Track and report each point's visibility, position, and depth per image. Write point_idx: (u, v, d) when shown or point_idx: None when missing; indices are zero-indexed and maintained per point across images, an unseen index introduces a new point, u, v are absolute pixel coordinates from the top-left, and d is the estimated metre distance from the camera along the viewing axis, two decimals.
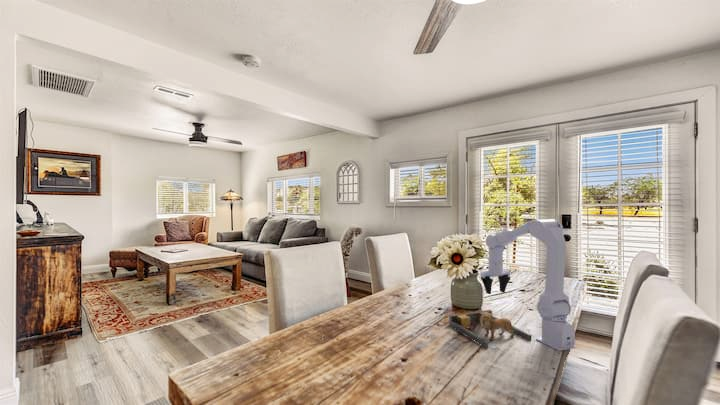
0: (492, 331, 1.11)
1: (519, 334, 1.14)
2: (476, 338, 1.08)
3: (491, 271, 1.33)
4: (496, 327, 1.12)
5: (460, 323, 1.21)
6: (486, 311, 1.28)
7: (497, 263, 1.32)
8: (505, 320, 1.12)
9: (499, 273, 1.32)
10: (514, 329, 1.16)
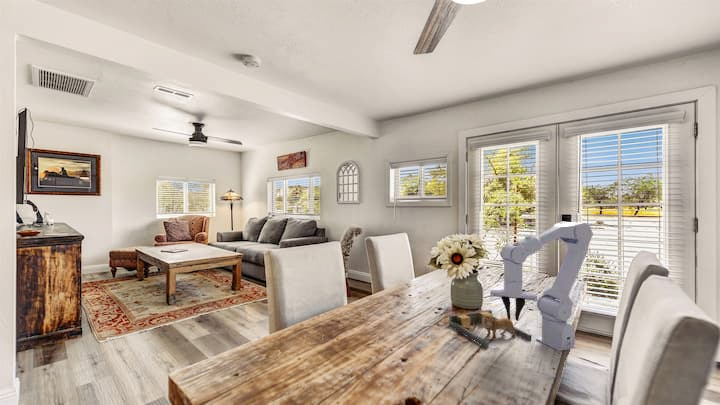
0: (494, 331, 1.11)
1: (519, 334, 1.14)
2: (476, 338, 1.08)
3: (504, 290, 1.06)
4: (498, 327, 1.12)
5: (460, 323, 1.21)
6: (486, 311, 1.28)
7: (509, 281, 1.04)
8: (507, 320, 1.13)
9: (512, 294, 1.03)
10: (514, 329, 1.16)
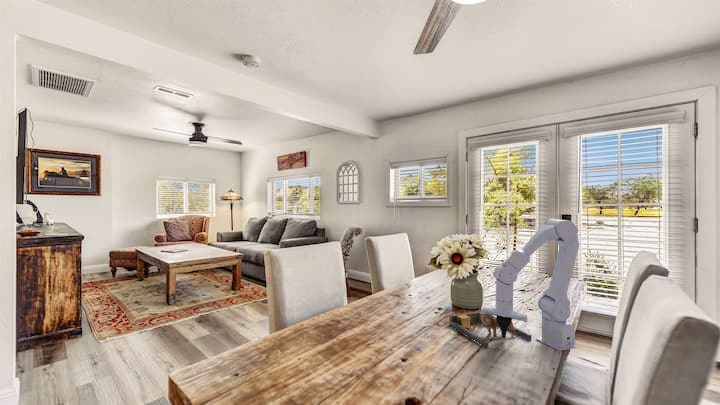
0: (494, 329, 1.12)
1: (519, 334, 1.14)
2: (476, 338, 1.08)
3: (495, 309, 1.10)
4: (497, 325, 1.13)
5: (460, 323, 1.21)
6: None
7: (499, 300, 1.08)
8: None
9: (501, 313, 1.07)
10: None
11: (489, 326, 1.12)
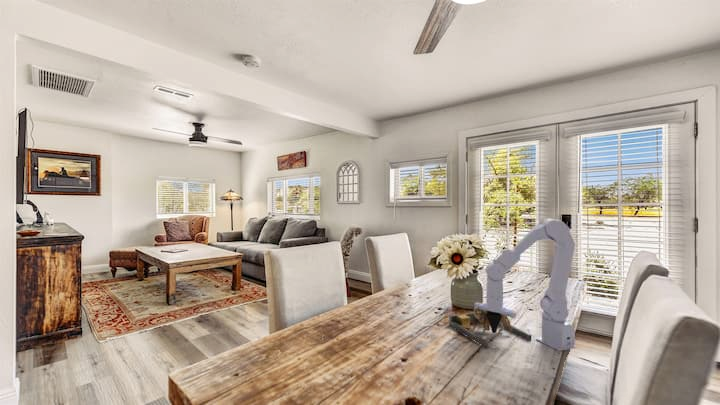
0: (487, 322, 1.16)
1: (519, 334, 1.14)
2: (476, 338, 1.08)
3: (486, 304, 1.15)
4: None
5: (460, 323, 1.21)
6: None
7: (488, 296, 1.13)
8: None
9: (489, 308, 1.12)
10: (514, 329, 1.16)
11: (481, 319, 1.17)
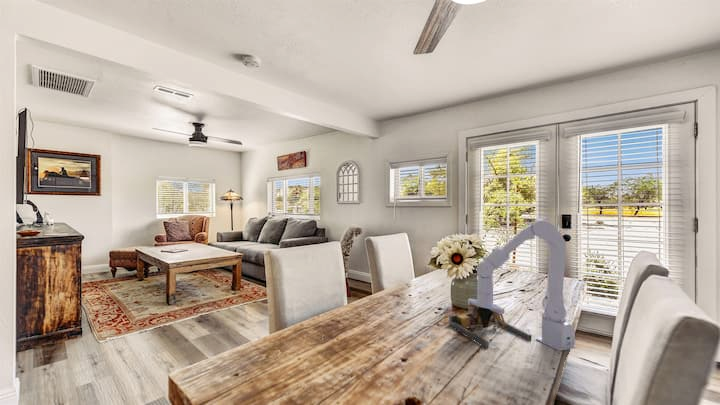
0: (480, 318, 1.21)
1: (519, 334, 1.14)
2: (476, 338, 1.08)
3: None
4: None
5: (460, 323, 1.21)
6: None
7: (478, 292, 1.18)
8: None
9: (479, 304, 1.17)
10: (514, 329, 1.16)
11: (475, 315, 1.22)
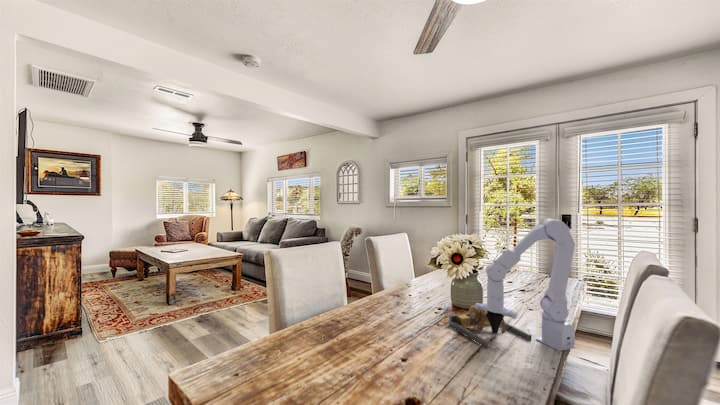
0: (480, 322, 1.19)
1: (519, 334, 1.14)
2: (476, 338, 1.08)
3: (487, 305, 1.15)
4: (485, 319, 1.19)
5: (460, 323, 1.21)
6: (486, 311, 1.28)
7: (489, 297, 1.12)
8: None
9: (490, 309, 1.12)
10: (514, 329, 1.16)
11: (476, 319, 1.20)
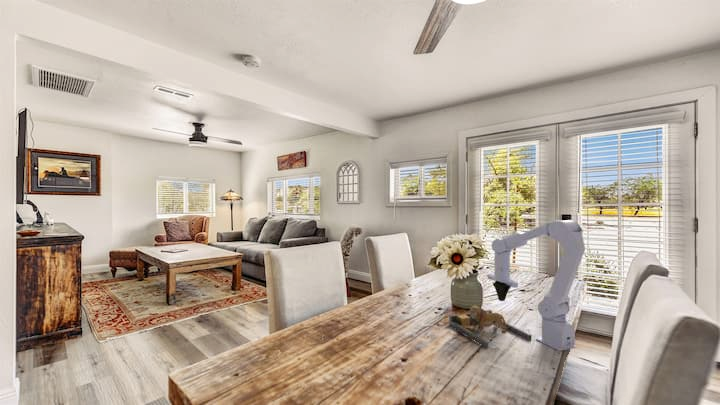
0: (481, 323, 1.19)
1: (519, 334, 1.14)
2: (476, 338, 1.08)
3: None
4: (486, 320, 1.19)
5: (460, 323, 1.21)
6: (486, 311, 1.28)
7: None
8: (496, 315, 1.18)
9: (495, 278, 1.25)
10: (514, 329, 1.16)
11: (476, 320, 1.19)
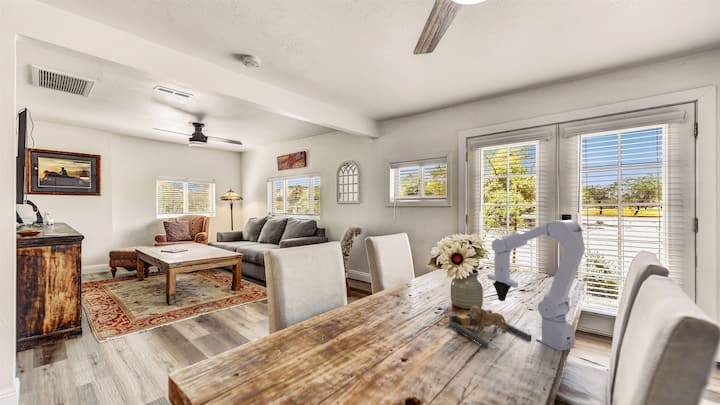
0: (481, 323, 1.19)
1: (519, 334, 1.14)
2: (476, 338, 1.08)
3: None
4: (486, 320, 1.19)
5: (460, 323, 1.21)
6: (486, 311, 1.28)
7: None
8: (497, 315, 1.18)
9: (495, 278, 1.25)
10: (514, 329, 1.16)
11: (477, 320, 1.19)
